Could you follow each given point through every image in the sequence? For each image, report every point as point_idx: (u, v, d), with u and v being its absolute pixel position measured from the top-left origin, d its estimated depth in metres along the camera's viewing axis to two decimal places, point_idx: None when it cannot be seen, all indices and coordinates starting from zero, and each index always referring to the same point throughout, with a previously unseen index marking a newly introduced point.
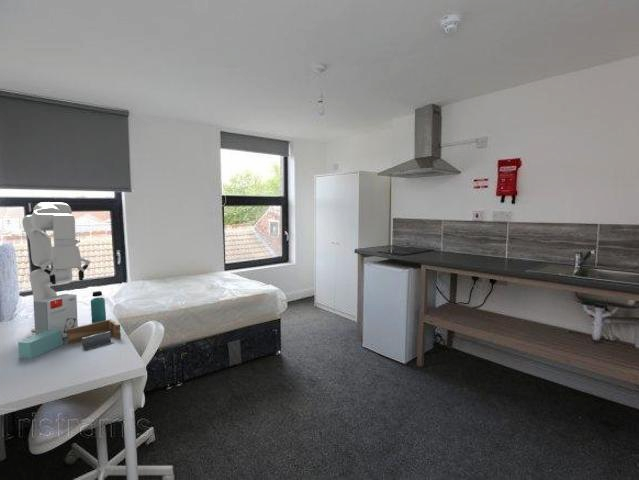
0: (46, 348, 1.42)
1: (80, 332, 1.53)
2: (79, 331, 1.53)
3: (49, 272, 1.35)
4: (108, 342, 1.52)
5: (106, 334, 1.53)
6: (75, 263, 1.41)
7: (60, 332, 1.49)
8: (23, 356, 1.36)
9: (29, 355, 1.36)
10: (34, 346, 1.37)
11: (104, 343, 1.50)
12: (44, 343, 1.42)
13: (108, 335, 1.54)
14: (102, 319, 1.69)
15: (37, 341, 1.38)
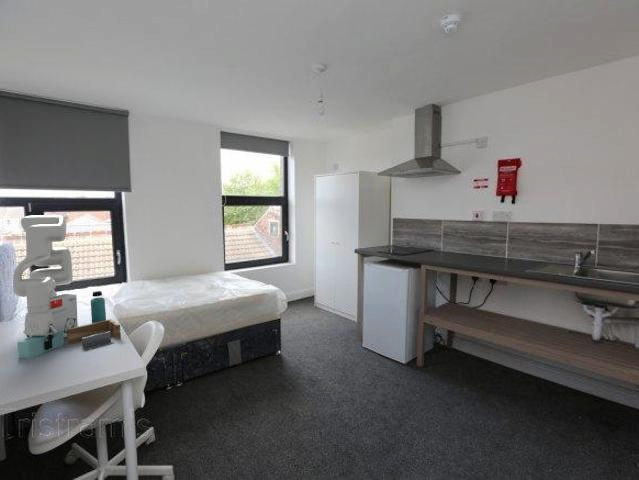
0: None
1: (80, 332, 1.53)
2: (79, 331, 1.53)
3: None
4: (108, 342, 1.52)
5: (106, 334, 1.53)
6: None
7: (61, 332, 1.49)
8: (22, 355, 1.36)
9: (28, 355, 1.35)
10: (33, 346, 1.37)
11: (104, 343, 1.50)
12: (43, 343, 1.41)
13: (108, 335, 1.54)
14: (102, 319, 1.69)
15: (36, 340, 1.38)
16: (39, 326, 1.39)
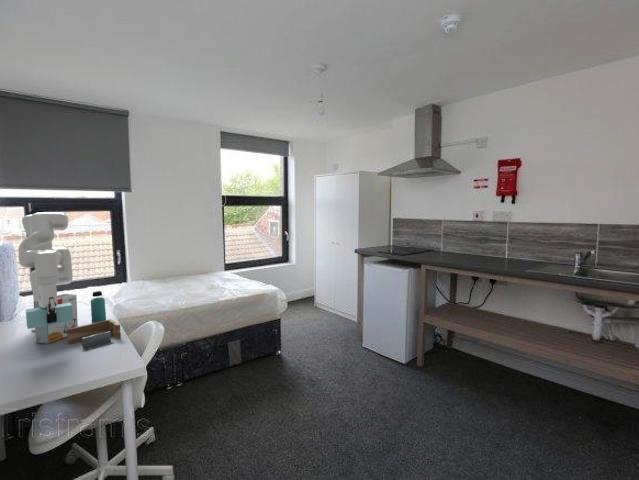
0: None
1: (80, 332, 1.53)
2: (79, 331, 1.53)
3: (54, 311, 1.38)
4: (108, 342, 1.52)
5: (106, 334, 1.53)
6: None
7: (70, 307, 1.43)
8: None
9: (27, 325, 1.33)
10: (32, 317, 1.34)
11: (104, 343, 1.50)
12: (46, 316, 1.37)
13: (108, 335, 1.54)
14: (102, 319, 1.69)
15: (37, 312, 1.35)
16: (41, 298, 1.36)
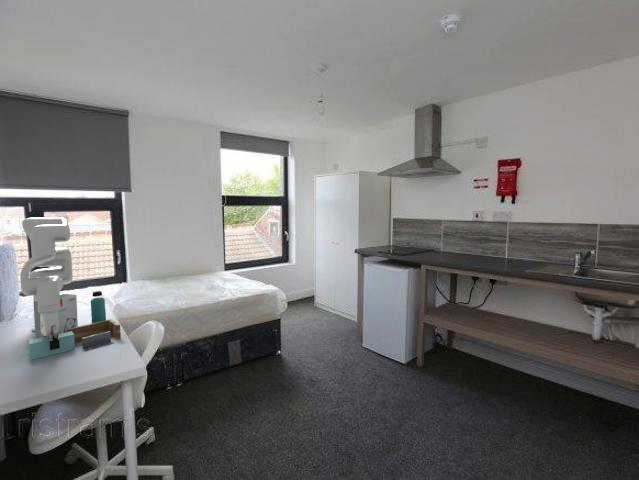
0: (51, 351, 1.39)
1: (80, 332, 1.53)
2: (79, 331, 1.53)
3: None
4: (108, 342, 1.52)
5: (106, 334, 1.53)
6: None
7: (72, 336, 1.44)
8: (29, 355, 1.37)
9: (30, 356, 1.35)
10: (35, 348, 1.35)
11: (104, 343, 1.50)
12: (49, 346, 1.39)
13: (108, 335, 1.54)
14: (102, 319, 1.69)
15: (40, 343, 1.36)
16: (43, 326, 1.37)
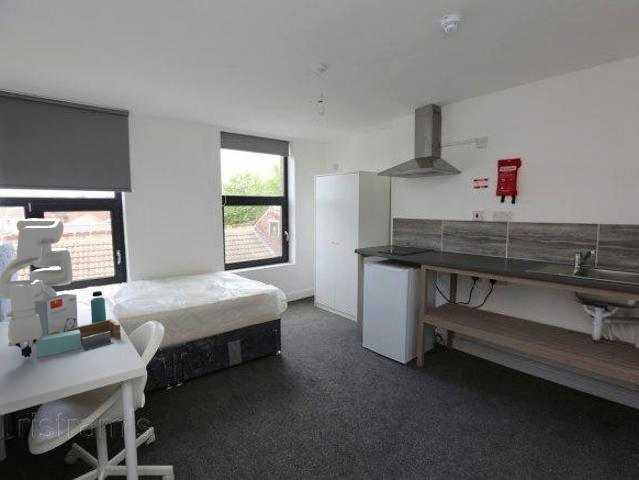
0: (57, 349, 1.41)
1: (80, 332, 1.53)
2: None
3: None
4: (108, 342, 1.52)
5: (106, 334, 1.53)
6: None
7: (78, 335, 1.46)
8: None
9: (37, 353, 1.37)
10: (42, 345, 1.38)
11: (104, 343, 1.50)
12: (55, 344, 1.41)
13: (108, 335, 1.54)
14: (102, 319, 1.69)
15: (46, 340, 1.39)
16: (34, 329, 1.34)
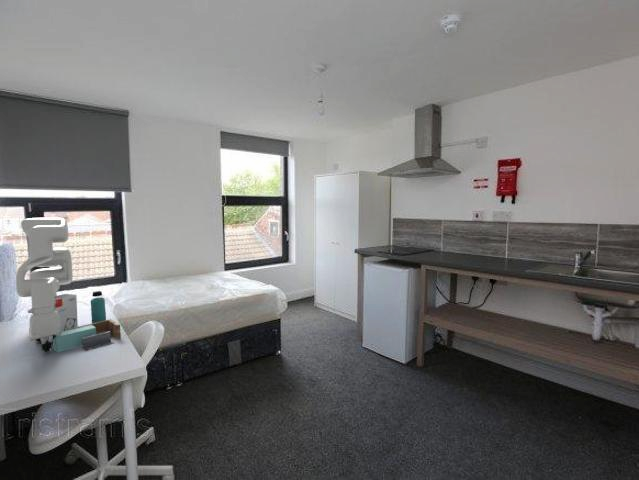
0: (75, 343, 1.47)
1: None
2: None
3: None
4: (108, 342, 1.52)
5: (106, 334, 1.53)
6: None
7: (94, 330, 1.52)
8: (54, 348, 1.44)
9: (56, 348, 1.42)
10: (61, 340, 1.43)
11: (104, 343, 1.50)
12: (73, 339, 1.46)
13: (108, 335, 1.54)
14: (102, 319, 1.69)
15: (65, 336, 1.44)
16: (53, 325, 1.39)
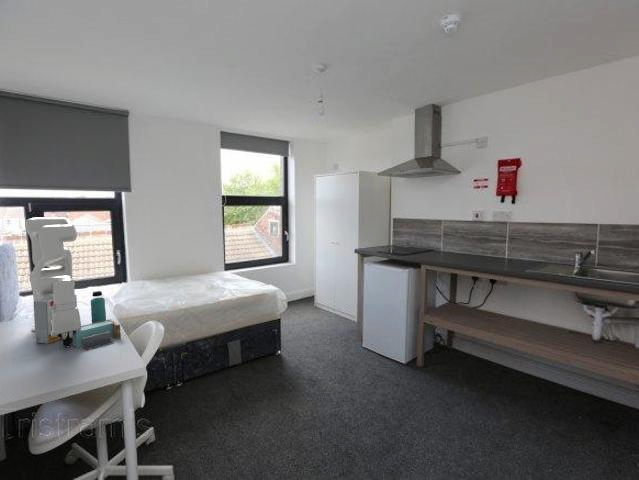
0: None
1: None
2: None
3: None
4: (108, 342, 1.52)
5: (106, 334, 1.53)
6: None
7: (111, 325, 1.58)
8: (74, 343, 1.49)
9: (76, 343, 1.48)
10: (81, 335, 1.48)
11: (104, 343, 1.50)
12: (92, 334, 1.52)
13: (108, 335, 1.54)
14: (102, 319, 1.69)
15: (84, 331, 1.50)
16: (74, 321, 1.45)
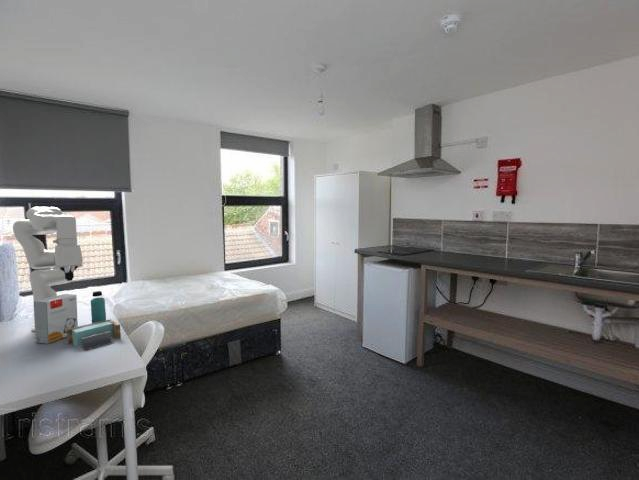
0: None
1: None
2: None
3: None
4: (108, 342, 1.52)
5: (106, 334, 1.53)
6: None
7: (111, 325, 1.58)
8: (74, 343, 1.49)
9: (76, 343, 1.48)
10: (81, 336, 1.48)
11: (104, 343, 1.50)
12: (92, 334, 1.52)
13: (108, 335, 1.54)
14: (102, 319, 1.69)
15: (84, 331, 1.50)
16: (76, 256, 1.52)
